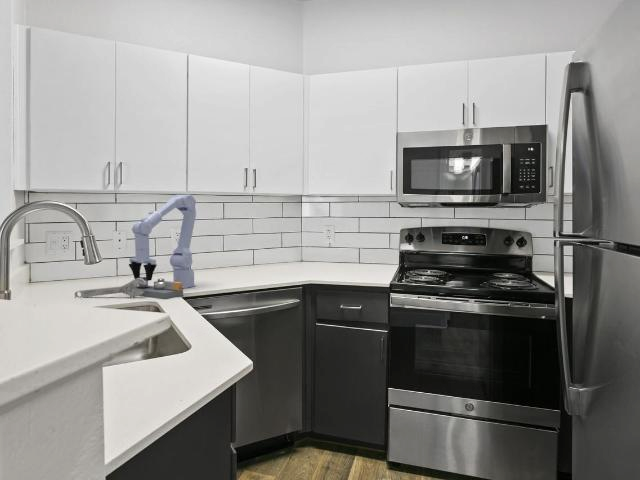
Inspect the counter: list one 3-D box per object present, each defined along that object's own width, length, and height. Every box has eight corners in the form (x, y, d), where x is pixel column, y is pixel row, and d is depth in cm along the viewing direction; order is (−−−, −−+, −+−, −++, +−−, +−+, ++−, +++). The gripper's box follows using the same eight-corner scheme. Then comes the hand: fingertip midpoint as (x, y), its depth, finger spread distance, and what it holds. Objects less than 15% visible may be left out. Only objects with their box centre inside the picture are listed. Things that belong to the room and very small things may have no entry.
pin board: (144, 290, 213) (144, 285, 212) (183, 295, 201) (183, 289, 201) (125, 293, 204) (125, 288, 204) (165, 299, 192) (165, 293, 192)
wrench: (78, 303, 197) (148, 296, 196) (75, 304, 195) (146, 296, 195) (75, 285, 196) (145, 277, 196) (72, 285, 194) (144, 277, 194)
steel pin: (143, 292, 208) (142, 276, 208) (150, 292, 207) (149, 277, 206) (136, 293, 205) (136, 277, 204) (143, 294, 203) (143, 278, 203)
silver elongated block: (161, 286, 207) (161, 277, 207) (185, 289, 200) (185, 280, 200) (150, 288, 202) (150, 279, 202) (175, 291, 195) (175, 282, 195)
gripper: (123, 248, 204) (124, 279, 205) (146, 250, 198) (147, 282, 198) (136, 247, 211) (137, 277, 212) (159, 249, 204) (160, 280, 205)
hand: (143, 279), depth 205 cm, fingers open, 7 cm apart
